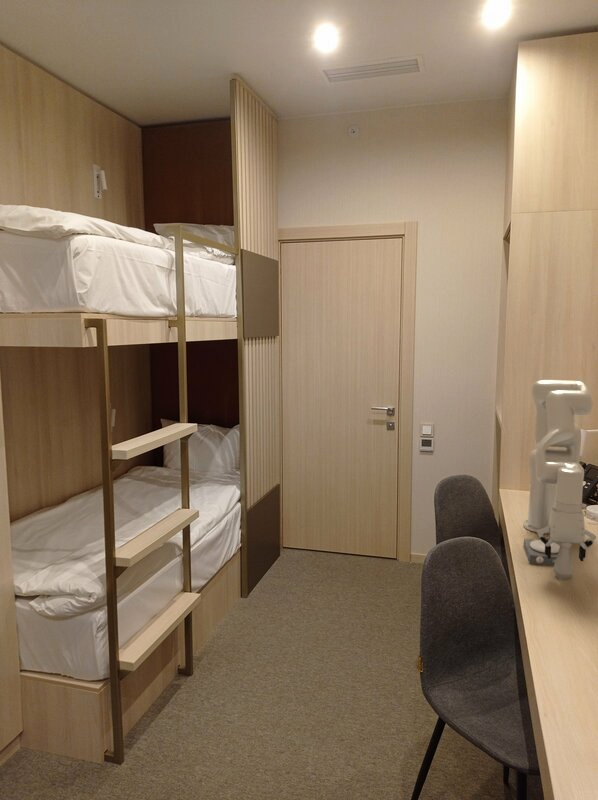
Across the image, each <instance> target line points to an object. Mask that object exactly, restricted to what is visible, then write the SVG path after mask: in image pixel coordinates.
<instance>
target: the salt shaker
mask: <svg viewBox="0 0 598 800" xmlns="http://www.w3.org/2000/svg"><path fill="white" fill-rule="evenodd" d="M573 544H574V543H567V542H558V545H560V548H559V552H558V555H557V558H556V562H555V565H554V566H553V572H554V574H555V577H556V578H557V579H559V580H565V581H568V580H571V578H572V576H573V574H574V566H573V557H572V549H571V548H573V546H574V545H573Z"/></svg>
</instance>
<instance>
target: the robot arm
mask: <svg viewBox="0 0 598 800" xmlns="http://www.w3.org/2000/svg"><path fill="white" fill-rule="evenodd" d="M531 388H532V389H531V391H532V392H531V394H532V399H533V402H534V405H535V409H536V413H535V415H536V416H535V427H534V429H535V431H534V432H535V433H534V437H535V438H534V440H535V443H536V444H537V447H536V448H535V449H533V450H532V451H531V452H530V454H529V456H528V461H529V462H528V463H529V472H530V473H529V475H530V477H529V478H530V480H529V496H528V497H529V498H528V499H529V500H528V513H527V515H528V516H527V519H526V520H524V522H523V527H524V528H525V529H527V530H528V531H530V532H533V533H537V536H538V537H539V540H541V541H542V542H543V543H544V544H545V555H547V557H548V559H550V558H551V546H550V545H551V544H552V543H553V542H554V541H555V542H567V543H573V544H579V549H578V559H579V561H580V562H584V559H586V556H587V555H586V554H587V552H586V551H587V549H589V547H591V546H592V545H593V544H594V542H595V541H596V539H597V534H594V533H593V532H592V531H589V530H587V529H585V527H586V525H585V517H584V516H585V515H584V511H583V510H584V509H587V506H588V505H587V504H585V503H583V489H584V479H585V470H584V467H583V465H581V464H580V458H581V446H582V430H581V427H580V425H579V424H578V423H576V421H575V416H587V415H589V414H591V412H592V410H593V406H594V405H593V403H594V402H593V398H592V393H591V392H590V390H589V388H588V387H587V385H586V384H585V383H584V382H583V381H580V380H572V379H571V380H568V379H567V380H566V379H565V380H564V379H562V380H560V379H541V380H540V379H539V380H537V381H534V383H533V384H532V387H531ZM549 447H552V448H549ZM554 447H556V448H554ZM560 448H561V449H560ZM562 448H566V449H562ZM544 534H545V535H546V534H548V536H547V538H545V537H544ZM585 535H586V536H587V537H588V539H587V540H586V541H585Z"/></svg>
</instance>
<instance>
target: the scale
mask: <svg viewBox="0 0 598 800" xmlns="http://www.w3.org/2000/svg"><path fill="white" fill-rule="evenodd" d="M550 546H551V558H550V559H548V557H547V555H545V544H544V543H543V542H542V541H541V539H530V538H523V549H524V552H525V555H526V557H527V560H528V563H529V564H531V565H543V566H544V565H545V566H553V567H554V565H555V562H556V558H557V555H558V552H559V548H560V545H558V542H555V541H554V542H553V543H552V544H551V545H550Z"/></svg>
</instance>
